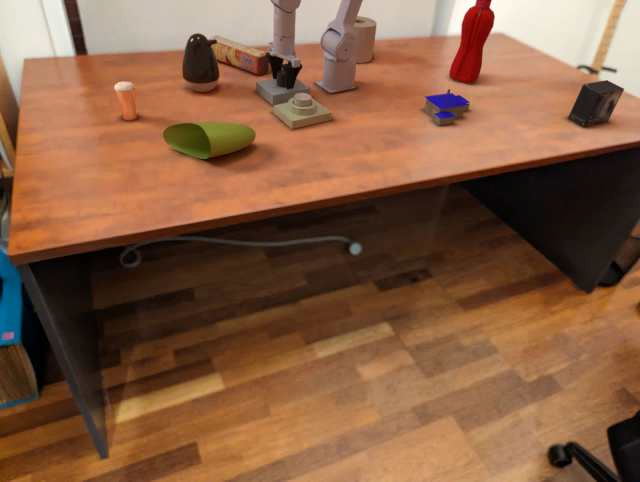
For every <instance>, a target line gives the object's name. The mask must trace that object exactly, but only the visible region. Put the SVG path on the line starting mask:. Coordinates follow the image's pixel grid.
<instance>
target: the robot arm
mask: <svg viewBox="0 0 640 482" xmlns="http://www.w3.org/2000/svg"><path fill="white" fill-rule="evenodd" d="M363 1H364V0H341V1H340V4H339V7H338V9H337V13H336V15H335V18H334V19H332V20H331V21H330V22H328V24H327V27H326V29H325V30H324V32H323V33H322V34H321V36H320V41H319V42H320V46H321V48H322V49H323V63H322V77H321V80H318V81H316V82H315V84H316V85H317V86H319V87H320V88H321V89H323V90H324V91H326V92H327V93H328V94H333V93H338V92H343V91H348V90H354V89H356V85H355V80H356V71H357V63H356V62H355V59H354V57H353V56H352V55H353V53H354V49H355V39H356V33H355V30H354V24H355V21H356V18H357V16H359V12H360V10H361V8H362V7H361V6H362V4H363ZM270 2H271V3H272V6H273V32H272V33H273V37H272V38H273V41H269V42H267V45H268V47H267V50H269V51H268V52H266V57H267V59H268V61H269V68H270V71H271V75H272V76H271V77H272V79H277V71H280V70H283V72H284V77H285V87H286V89H287V90H288V89H293V88H294V85H295V81H296V78H297V79H298V75H299V74H300V72H301V70H302V69H303V64H302V63H301V58H299V56H298V54H297V53H296V50H295V46H296V45H295V43H296V41H295V40H296V19H297V18H296V17H297V16H296V15H297V9H299V7H300V6H301V3H302V0H270ZM284 61H286V62H287V63H284Z"/></svg>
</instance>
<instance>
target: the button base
mask: <svg viewBox="0 0 640 482" xmlns="http://www.w3.org/2000/svg"><path fill="white" fill-rule="evenodd" d="M272 106H273V107H272V109H273V110H272V111H273V112H272V113H273V114H274V115H275V116H276V117H277V118H278V119H280V120H281V121H282V122H283V123H284V124H286V125H287V126H288V128H290V129H291V130H293V129H298V128H303V127H305V126H306V127H307V126H312V125H315V124H319V123H324V122H328V121H331V119H332V112H331V111H330V110H329V109H327V108H326V107H325V106H323V105H322V104H321V103H319V102H318V101H316V100H315V99H314V98H313V97H312V100H311V106H308V107H299V106H296V105H294V97H293V98H291V99H290V100H288V103H283V104H278V105H272Z"/></svg>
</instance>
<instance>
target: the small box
mask: <svg viewBox="0 0 640 482" xmlns="http://www.w3.org/2000/svg"><path fill="white" fill-rule="evenodd" d="M624 91H625V88H624V87H622V86H619V85H617V84H615V83H613V82H612V81H609V80H607V79H605V80H600V81H594V82H588V83H583V84H582V86H581V87H580V91H579V92H578V94H577V97H576V99H575V102H574V103H573V106H572V108H571V110H570V112H569V114H568V116H567V119H569V121H572V122H573V123H576V124H577V125H578V126H580V127H582V128H588V127H592V126H597V125H601V124H606V123H608V122H609V121H610V119H611V117H612V115H613V113H614V111H615V109H616V106H617V105H618V103H619V100H620V98H621V97H622V95H623V92H624Z"/></svg>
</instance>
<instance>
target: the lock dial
mask: <svg viewBox="0 0 640 482" xmlns="http://www.w3.org/2000/svg"><path fill="white" fill-rule="evenodd" d="M277 86H279V87H285V77H284V72H283V69H282V70H280V71H277Z"/></svg>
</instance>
